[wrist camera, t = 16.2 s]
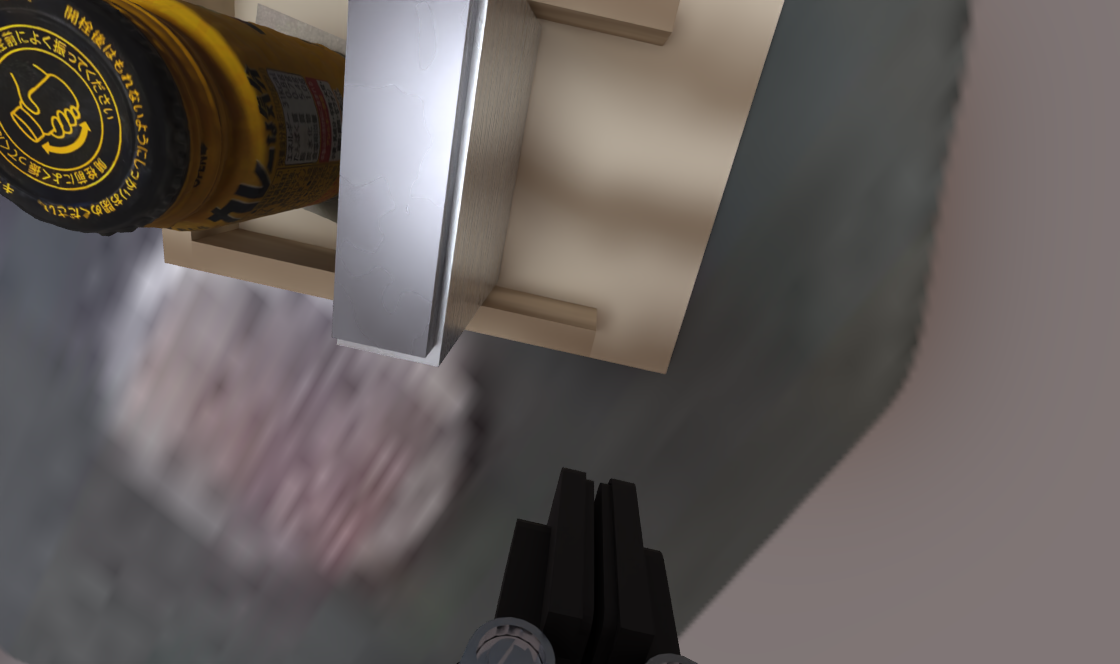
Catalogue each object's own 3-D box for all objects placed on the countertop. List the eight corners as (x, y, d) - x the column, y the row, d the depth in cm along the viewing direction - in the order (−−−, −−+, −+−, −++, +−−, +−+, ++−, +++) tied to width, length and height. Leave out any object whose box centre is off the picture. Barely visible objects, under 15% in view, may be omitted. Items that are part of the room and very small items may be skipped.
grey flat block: (498, 280, 24) (429, 379, 14) (434, 266, 24) (323, 355, 14) (541, 27, 20) (488, -69, 11) (466, 10, 20) (344, -102, 11)
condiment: (261, 4, 21) (-139, -149, 10) (460, 88, 21) (305, 38, 10) (235, 180, 23) (-103, 224, 12) (413, 251, 24) (248, 355, 13)
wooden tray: (662, 364, 26) (673, 404, 22) (196, 260, 26) (125, 282, 22) (775, 3, 20) (816, -28, 16) (176, -134, 20) (75, -198, 16)
